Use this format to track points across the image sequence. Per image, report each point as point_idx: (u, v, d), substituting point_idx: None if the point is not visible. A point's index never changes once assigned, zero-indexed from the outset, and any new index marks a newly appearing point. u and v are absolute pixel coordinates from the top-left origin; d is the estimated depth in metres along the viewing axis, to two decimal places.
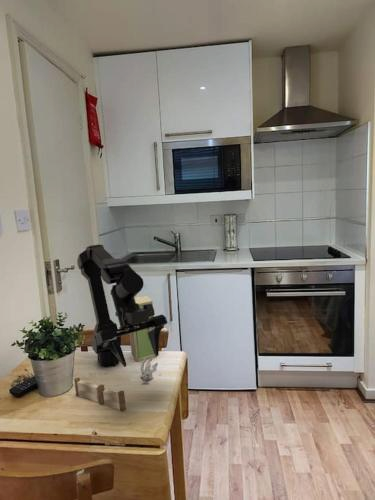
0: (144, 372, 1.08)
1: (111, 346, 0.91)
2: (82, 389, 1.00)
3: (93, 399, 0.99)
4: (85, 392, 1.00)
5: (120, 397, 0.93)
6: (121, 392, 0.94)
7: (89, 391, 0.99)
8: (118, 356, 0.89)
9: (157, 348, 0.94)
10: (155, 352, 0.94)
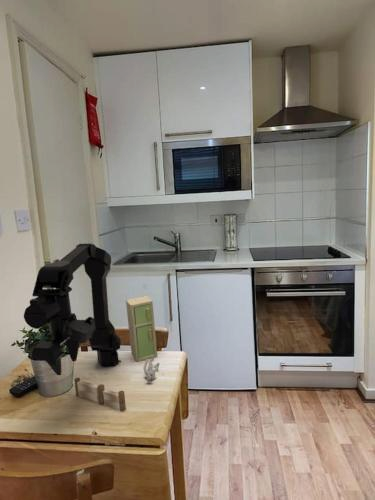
0: (147, 372, 1.08)
1: None
2: (82, 389, 1.00)
3: (93, 399, 0.99)
4: (85, 392, 1.00)
5: (120, 397, 0.93)
6: (121, 392, 0.94)
7: (89, 391, 0.99)
8: (55, 366, 0.89)
9: (77, 354, 0.97)
10: (73, 357, 0.97)
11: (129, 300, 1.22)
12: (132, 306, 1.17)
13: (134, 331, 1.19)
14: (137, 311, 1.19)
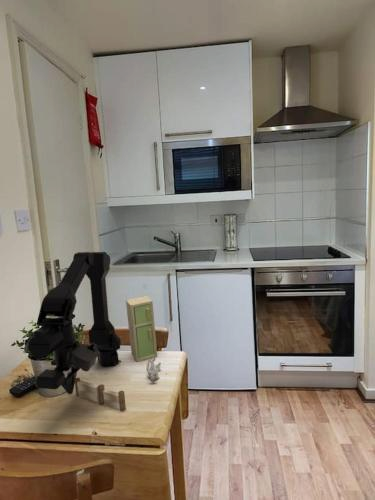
0: (151, 372, 1.08)
1: None
2: (82, 389, 1.00)
3: (93, 399, 0.99)
4: (85, 392, 1.00)
5: (120, 397, 0.93)
6: (121, 392, 0.94)
7: (89, 391, 0.99)
8: (66, 386, 0.94)
9: (73, 386, 0.96)
10: None
11: (129, 300, 1.22)
12: (132, 306, 1.17)
13: (134, 331, 1.19)
14: (137, 311, 1.19)
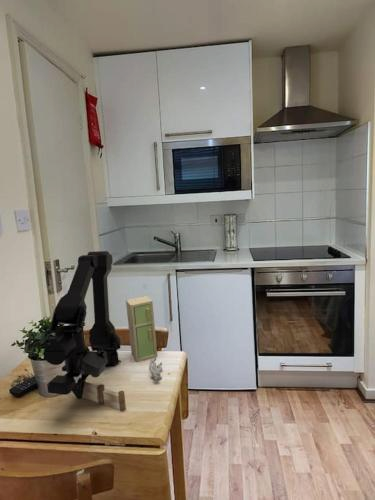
0: (154, 372, 1.08)
1: None
2: None
3: (93, 399, 0.99)
4: (85, 392, 1.00)
5: (120, 397, 0.93)
6: (121, 392, 0.94)
7: (89, 391, 0.99)
8: (76, 391, 0.97)
9: (82, 392, 0.98)
10: None
11: (129, 300, 1.22)
12: (132, 306, 1.17)
13: (134, 331, 1.19)
14: (137, 311, 1.19)
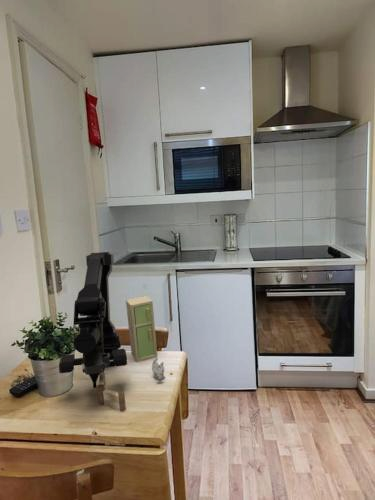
0: (157, 372, 1.08)
1: None
2: None
3: None
4: None
5: (120, 397, 0.93)
6: (121, 392, 0.94)
7: None
8: None
9: (94, 383, 1.02)
10: (93, 383, 1.03)
11: (129, 300, 1.22)
12: (132, 306, 1.17)
13: (134, 331, 1.19)
14: (137, 311, 1.19)
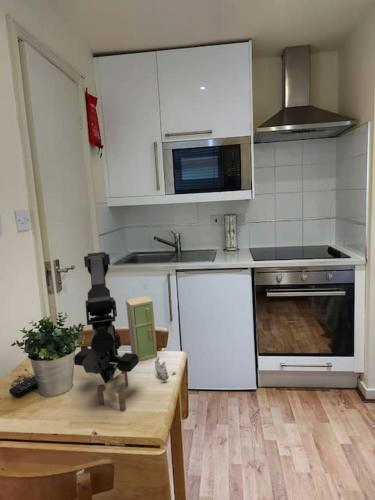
0: (160, 371, 1.08)
1: None
2: None
3: None
4: None
5: (120, 397, 0.93)
6: (121, 392, 0.94)
7: None
8: None
9: None
10: None
11: (129, 300, 1.22)
12: (132, 306, 1.17)
13: (134, 331, 1.19)
14: (137, 311, 1.19)
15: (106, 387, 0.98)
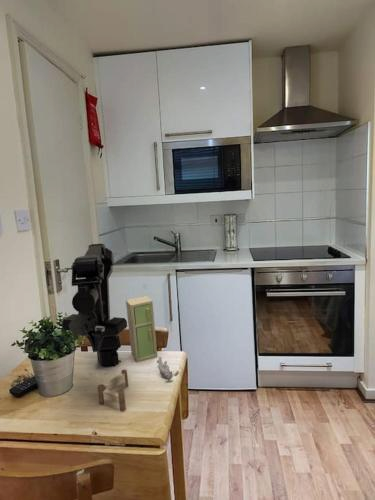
0: (165, 371, 1.08)
1: None
2: None
3: None
4: None
5: (120, 397, 0.93)
6: (121, 392, 0.94)
7: None
8: None
9: (96, 347, 1.01)
10: None
11: (129, 300, 1.22)
12: (132, 306, 1.17)
13: (134, 331, 1.19)
14: (137, 311, 1.19)
15: (106, 387, 0.98)
